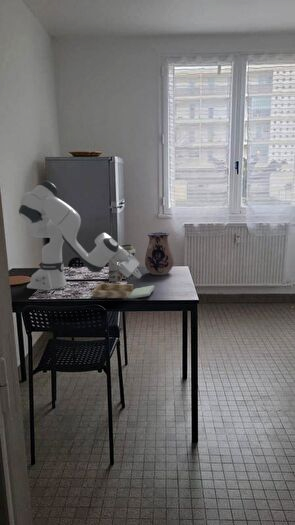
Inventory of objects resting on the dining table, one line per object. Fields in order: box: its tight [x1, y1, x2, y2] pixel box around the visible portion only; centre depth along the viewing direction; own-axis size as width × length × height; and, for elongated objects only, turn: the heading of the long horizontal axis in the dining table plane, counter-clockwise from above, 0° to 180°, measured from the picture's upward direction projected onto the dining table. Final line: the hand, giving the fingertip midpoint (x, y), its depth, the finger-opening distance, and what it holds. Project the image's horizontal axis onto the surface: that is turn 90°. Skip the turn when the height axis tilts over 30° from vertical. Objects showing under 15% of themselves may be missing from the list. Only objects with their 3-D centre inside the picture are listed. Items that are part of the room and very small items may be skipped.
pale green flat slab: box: [126, 284, 156, 299], centre depth 209 cm, size 1×14×12 cm
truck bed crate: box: [91, 282, 134, 299], centre depth 212 cm, size 18×14×4 cm
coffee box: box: [107, 260, 124, 282], centre depth 237 cm, size 9×6×16 cm
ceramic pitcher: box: [144, 231, 174, 276], centre depth 250 cm, size 18×21×25 cm
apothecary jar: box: [119, 243, 137, 276], centre depth 252 cm, size 12×12×18 cm
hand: (140, 277), depth 208 cm, fingers closed
